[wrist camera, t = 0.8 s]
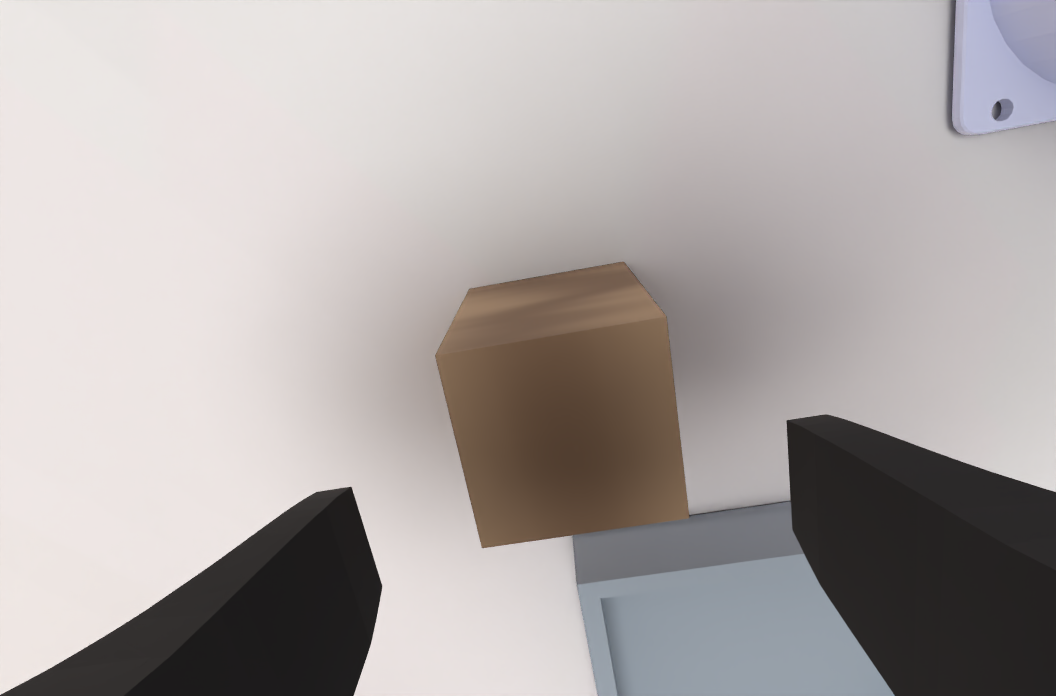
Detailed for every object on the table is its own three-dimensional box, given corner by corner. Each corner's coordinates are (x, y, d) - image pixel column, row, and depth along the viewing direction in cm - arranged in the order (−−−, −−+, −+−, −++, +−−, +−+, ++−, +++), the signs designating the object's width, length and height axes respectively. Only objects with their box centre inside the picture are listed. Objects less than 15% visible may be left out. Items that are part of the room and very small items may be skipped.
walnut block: (623, 261, 17) (666, 316, 11) (642, 404, 18) (689, 518, 13) (469, 288, 17) (435, 355, 12) (499, 427, 19) (482, 548, 13)
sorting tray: (921, 482, 19) (976, 529, 16) (915, 741, 22) (959, 812, 20) (572, 532, 20) (577, 585, 17) (617, 775, 23) (626, 846, 21)
